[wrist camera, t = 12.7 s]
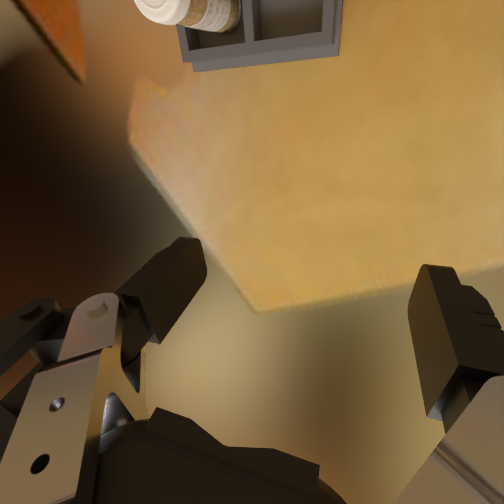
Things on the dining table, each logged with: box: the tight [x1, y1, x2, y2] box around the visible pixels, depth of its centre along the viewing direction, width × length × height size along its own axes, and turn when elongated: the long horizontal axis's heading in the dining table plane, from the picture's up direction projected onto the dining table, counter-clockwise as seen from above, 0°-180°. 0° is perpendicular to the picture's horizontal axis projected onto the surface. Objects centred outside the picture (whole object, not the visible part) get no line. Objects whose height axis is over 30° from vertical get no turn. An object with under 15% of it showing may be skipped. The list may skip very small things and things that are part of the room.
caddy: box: [176, 0, 343, 72], centre depth 28 cm, size 18×11×4 cm, turn 96°
